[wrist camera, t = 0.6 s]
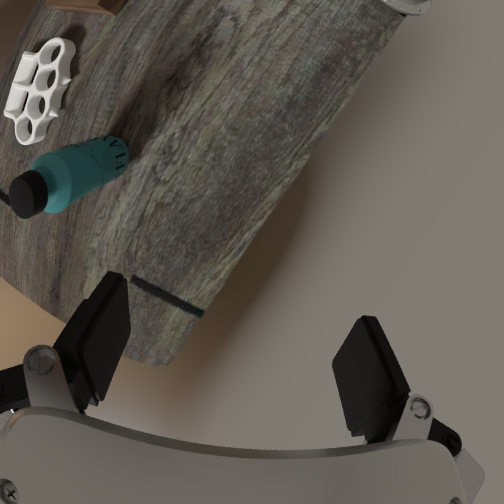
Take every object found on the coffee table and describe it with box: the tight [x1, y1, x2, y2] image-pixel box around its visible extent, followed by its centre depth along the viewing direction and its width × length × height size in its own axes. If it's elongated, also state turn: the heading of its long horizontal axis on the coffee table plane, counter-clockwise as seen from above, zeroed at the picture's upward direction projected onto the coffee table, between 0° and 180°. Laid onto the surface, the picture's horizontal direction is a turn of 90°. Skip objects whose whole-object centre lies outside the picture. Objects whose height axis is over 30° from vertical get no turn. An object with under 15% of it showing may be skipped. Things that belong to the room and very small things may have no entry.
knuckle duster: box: [4, 37, 76, 145], centre depth 26 cm, size 3×18×15 cm
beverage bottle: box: [9, 135, 129, 219], centre depth 25 cm, size 6×7×20 cm
